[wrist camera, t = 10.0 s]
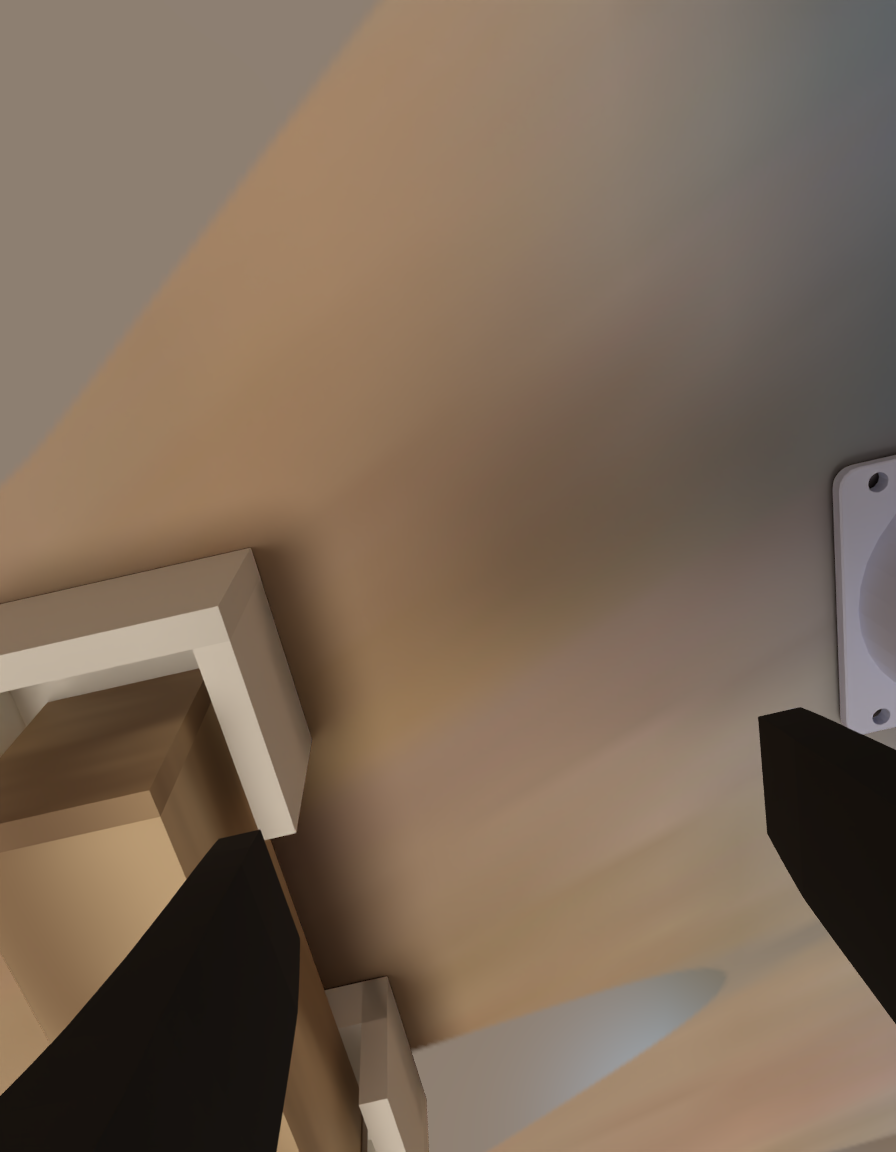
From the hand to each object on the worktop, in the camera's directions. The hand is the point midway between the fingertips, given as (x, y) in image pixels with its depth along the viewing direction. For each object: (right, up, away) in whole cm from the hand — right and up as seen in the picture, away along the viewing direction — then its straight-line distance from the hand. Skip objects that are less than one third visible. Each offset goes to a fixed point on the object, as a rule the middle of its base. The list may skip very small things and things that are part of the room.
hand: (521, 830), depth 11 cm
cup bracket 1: (-9, +1, +10) cm, 13 cm away
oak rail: (-7, -6, +11) cm, 14 cm away
